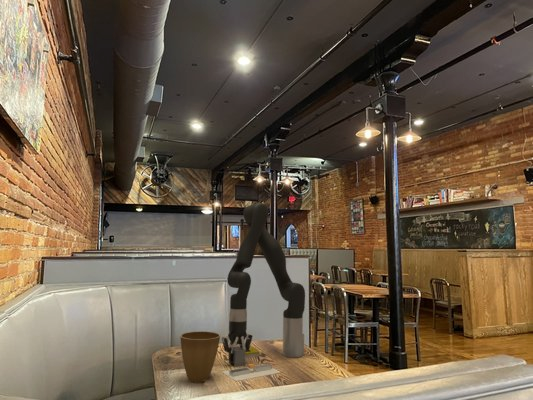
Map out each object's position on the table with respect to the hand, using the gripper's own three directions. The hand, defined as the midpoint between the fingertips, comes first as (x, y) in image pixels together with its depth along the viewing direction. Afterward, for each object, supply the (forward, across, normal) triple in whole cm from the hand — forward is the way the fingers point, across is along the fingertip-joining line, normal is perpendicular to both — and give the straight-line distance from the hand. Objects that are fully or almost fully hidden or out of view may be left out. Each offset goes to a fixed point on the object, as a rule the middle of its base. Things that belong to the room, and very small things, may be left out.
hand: (236, 361), depth 155 cm
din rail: (+2, 0, +12) cm, 12 cm away
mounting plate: (+2, 0, +12) cm, 12 cm away
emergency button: (+3, -11, -11) cm, 16 cm away
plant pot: (+2, +20, +7) cm, 21 cm away
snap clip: (0, 0, +12) cm, 12 cm away
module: (+2, 0, 0) cm, 2 cm away
